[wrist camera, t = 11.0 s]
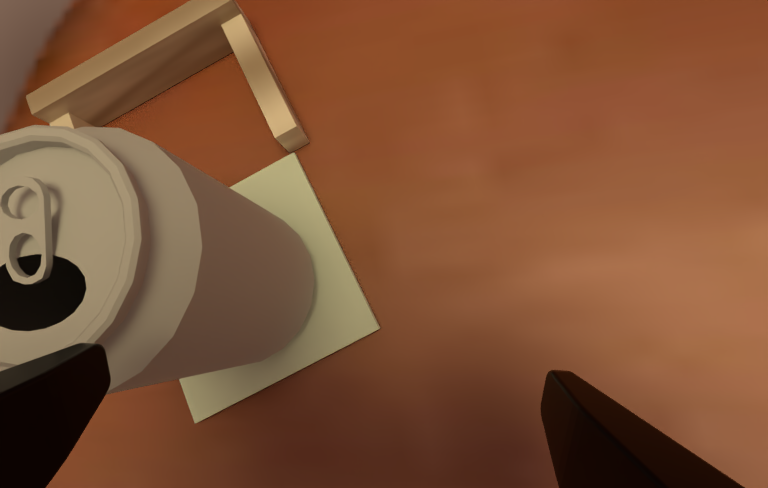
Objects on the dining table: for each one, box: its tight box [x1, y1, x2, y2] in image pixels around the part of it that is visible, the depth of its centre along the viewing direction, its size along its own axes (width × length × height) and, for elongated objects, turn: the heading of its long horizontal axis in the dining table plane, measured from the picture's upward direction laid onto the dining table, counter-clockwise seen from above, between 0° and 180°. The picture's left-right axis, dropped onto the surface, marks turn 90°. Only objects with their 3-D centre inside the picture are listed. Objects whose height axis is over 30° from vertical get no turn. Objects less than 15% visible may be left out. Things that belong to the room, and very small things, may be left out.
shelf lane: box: [26, 0, 310, 153], centre depth 23 cm, size 8×12×3 cm
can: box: [0, 125, 315, 394], centre depth 16 cm, size 8×8×12 cm
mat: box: [179, 152, 381, 423], centre depth 22 cm, size 10×10×1 cm
